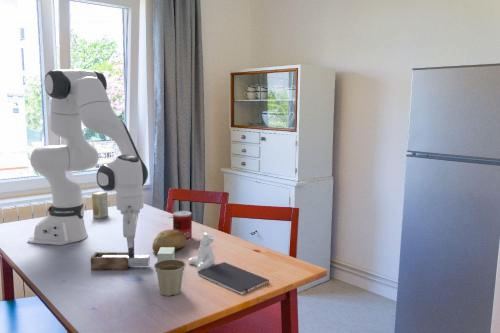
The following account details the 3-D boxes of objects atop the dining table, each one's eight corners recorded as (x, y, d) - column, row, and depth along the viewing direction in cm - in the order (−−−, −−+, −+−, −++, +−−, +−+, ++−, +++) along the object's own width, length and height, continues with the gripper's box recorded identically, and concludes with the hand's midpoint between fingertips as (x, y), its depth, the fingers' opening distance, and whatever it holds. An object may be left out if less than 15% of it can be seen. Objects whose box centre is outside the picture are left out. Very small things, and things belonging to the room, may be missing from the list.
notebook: (268, 284, 138) (224, 266, 152) (269, 279, 138) (224, 261, 152) (241, 296, 129) (196, 276, 143) (241, 291, 129) (196, 271, 143)
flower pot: (156, 285, 134) (156, 259, 133) (186, 284, 135) (186, 258, 134) (152, 298, 125) (151, 270, 124) (184, 298, 126) (184, 270, 125)
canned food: (193, 235, 184) (193, 211, 182) (189, 241, 176) (189, 216, 174) (176, 235, 185) (176, 210, 183) (171, 240, 177) (170, 215, 175)
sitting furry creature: (187, 263, 153) (186, 231, 151) (208, 258, 158) (208, 227, 156) (198, 272, 145) (198, 238, 144) (220, 267, 150) (221, 234, 148)
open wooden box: (91, 270, 145) (90, 257, 144) (96, 264, 150) (95, 252, 150) (126, 270, 146) (126, 257, 145) (130, 264, 151) (130, 252, 150)
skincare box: (101, 214, 215) (100, 190, 213) (108, 215, 213) (107, 191, 211) (92, 217, 209) (91, 193, 207) (99, 218, 207) (98, 194, 205)
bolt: (101, 266, 146) (100, 241, 145) (103, 263, 149) (102, 238, 148) (148, 266, 147) (147, 241, 146) (149, 263, 150) (149, 238, 148)
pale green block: (157, 271, 145) (157, 253, 145) (160, 263, 152) (160, 247, 151) (172, 271, 146) (172, 253, 145) (174, 263, 152) (174, 247, 151)
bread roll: (193, 248, 169) (193, 228, 168) (162, 258, 158) (162, 237, 157) (177, 242, 175) (177, 223, 174) (147, 251, 164) (146, 231, 163)
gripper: (138, 210, 135) (139, 252, 137) (140, 196, 155) (141, 233, 157) (117, 210, 134) (119, 253, 136) (122, 197, 154) (123, 234, 156)
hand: (131, 242), depth 147 cm, fingers open, 8 cm apart
